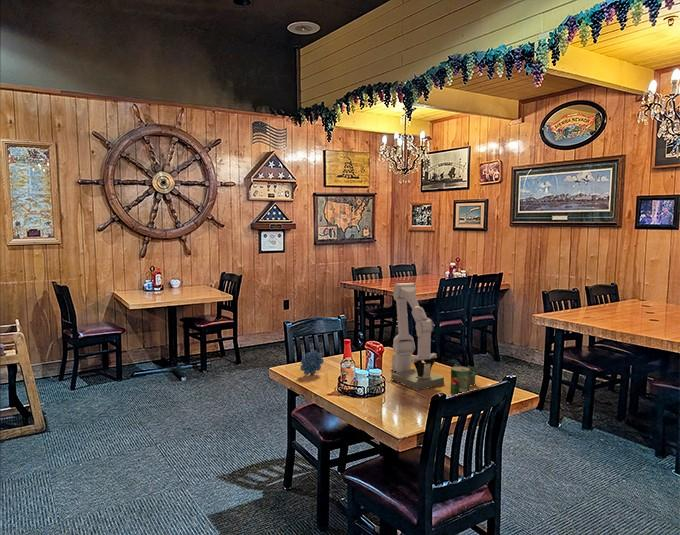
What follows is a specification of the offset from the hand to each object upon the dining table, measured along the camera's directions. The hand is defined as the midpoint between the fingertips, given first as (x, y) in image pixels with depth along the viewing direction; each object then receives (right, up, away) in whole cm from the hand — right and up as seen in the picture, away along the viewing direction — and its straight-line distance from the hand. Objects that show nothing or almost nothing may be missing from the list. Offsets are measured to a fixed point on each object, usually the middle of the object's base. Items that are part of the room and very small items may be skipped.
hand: (423, 375), depth 227 cm
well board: (-2, -4, +4) cm, 6 cm away
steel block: (0, -2, 0) cm, 2 cm away
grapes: (-52, -3, +15) cm, 54 cm away
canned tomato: (+14, -5, -12) cm, 19 cm away
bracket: (+20, -4, +2) cm, 20 cm away
